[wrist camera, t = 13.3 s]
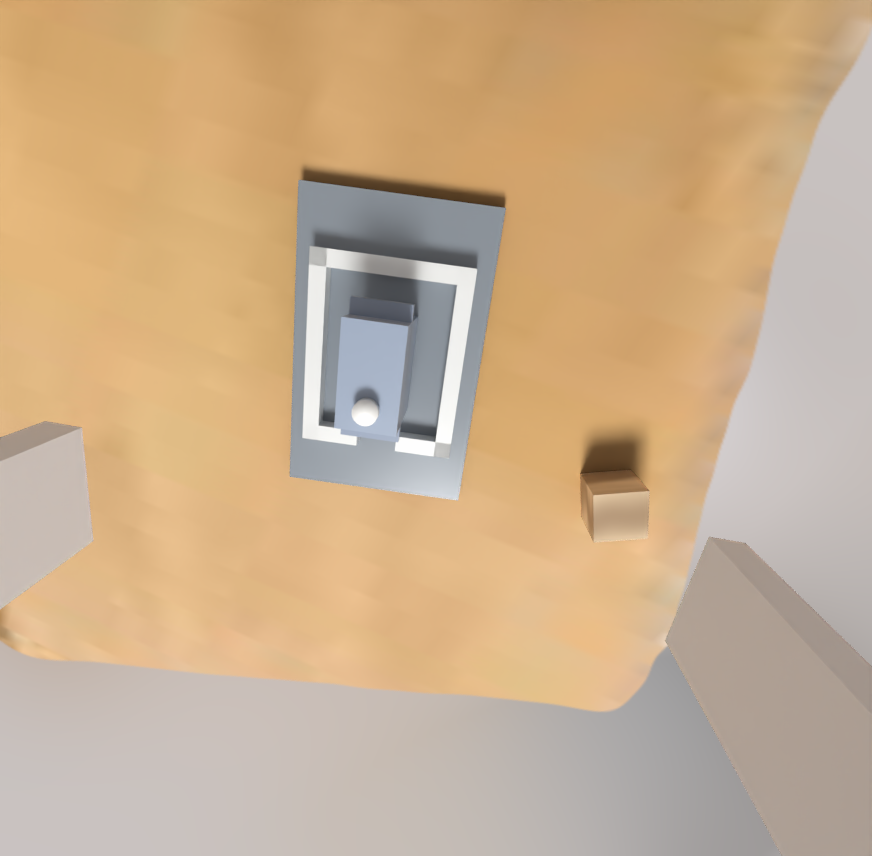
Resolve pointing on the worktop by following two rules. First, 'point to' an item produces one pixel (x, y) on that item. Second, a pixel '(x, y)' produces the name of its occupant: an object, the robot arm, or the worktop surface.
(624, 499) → the oak block
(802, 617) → the robot arm
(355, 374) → the servo block
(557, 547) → the worktop surface
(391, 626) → the worktop surface
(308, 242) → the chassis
